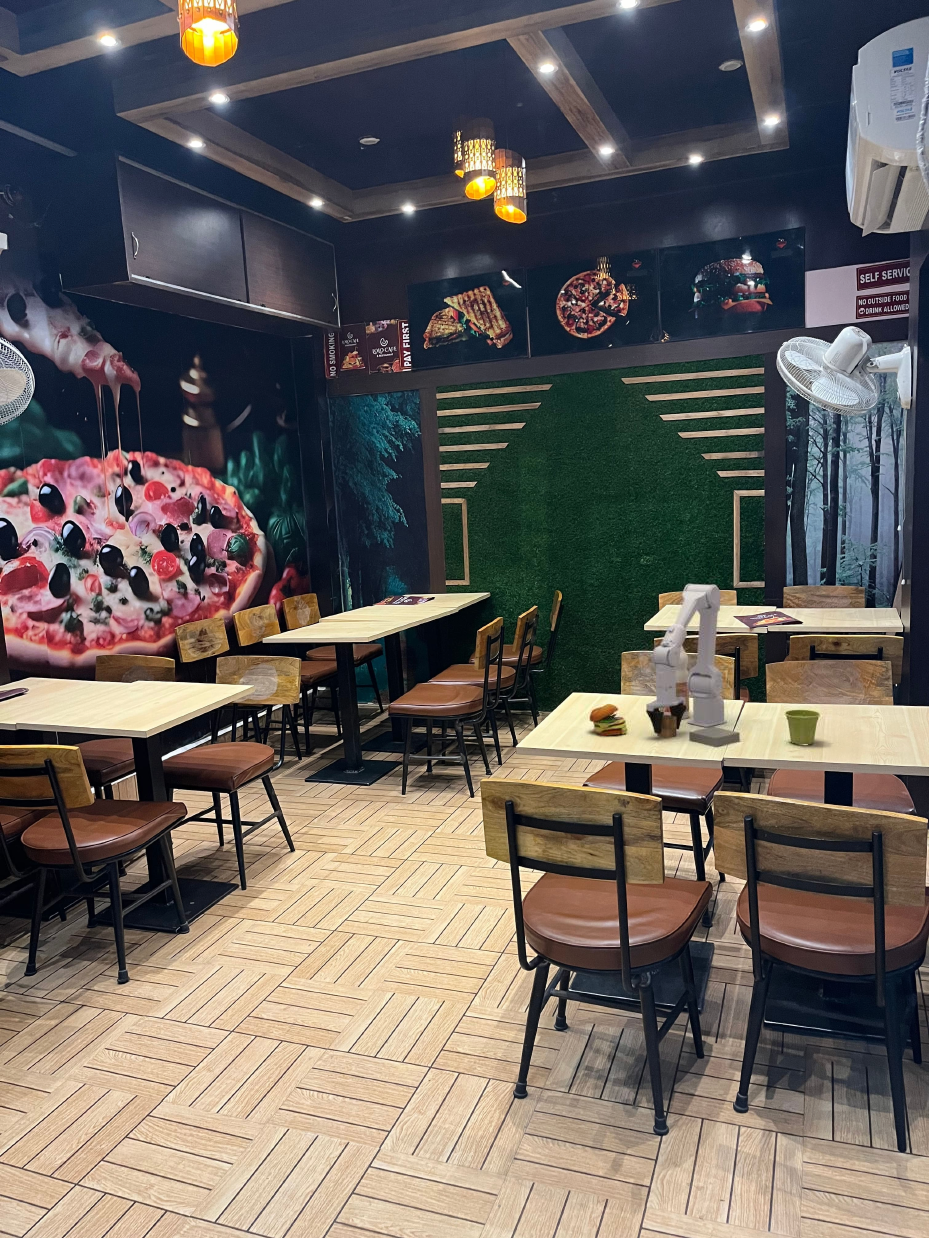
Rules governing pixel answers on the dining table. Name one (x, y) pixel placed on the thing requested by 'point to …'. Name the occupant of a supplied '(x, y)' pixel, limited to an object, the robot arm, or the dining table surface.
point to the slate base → (714, 736)
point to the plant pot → (802, 725)
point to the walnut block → (668, 727)
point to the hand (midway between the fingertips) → (666, 730)
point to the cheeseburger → (607, 721)
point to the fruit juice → (681, 683)
